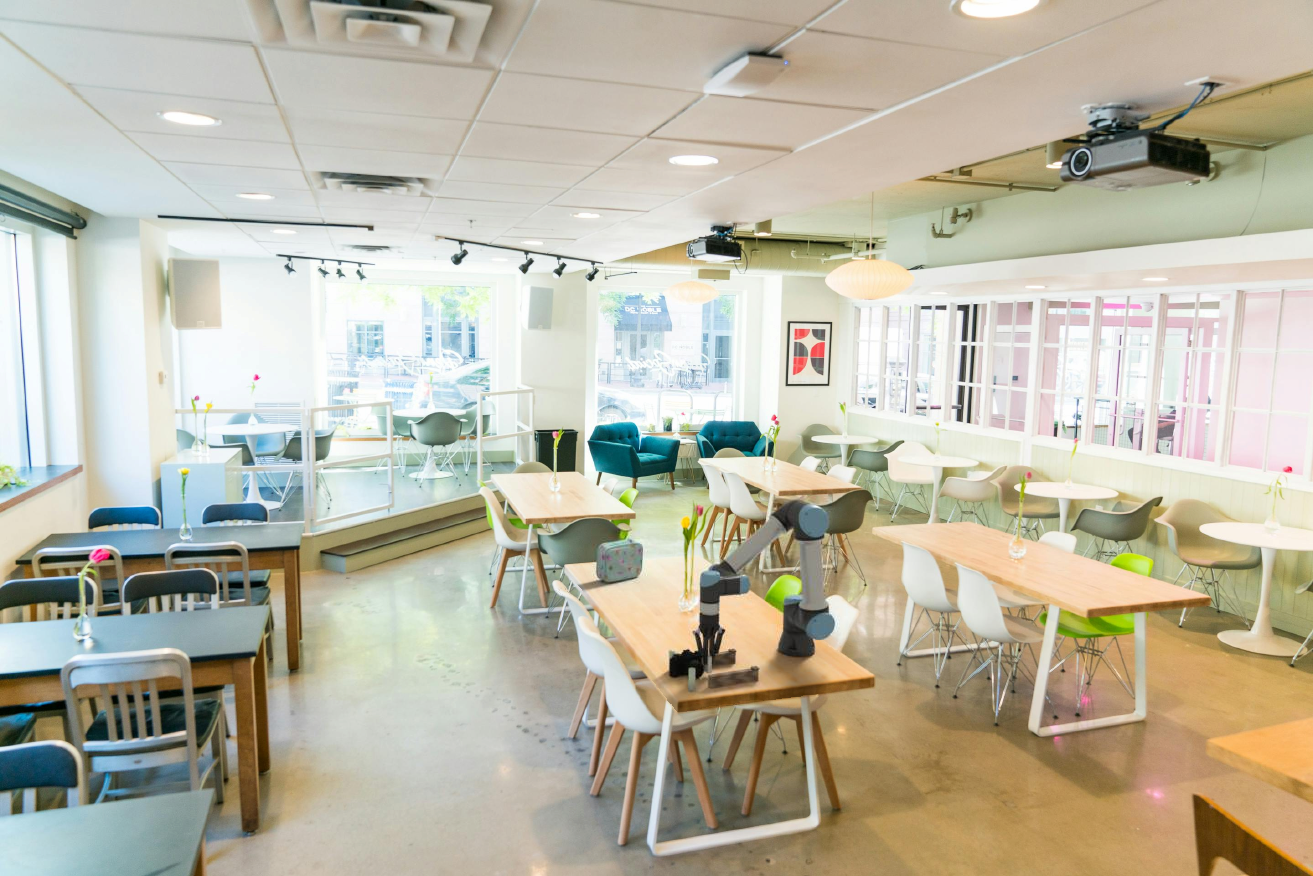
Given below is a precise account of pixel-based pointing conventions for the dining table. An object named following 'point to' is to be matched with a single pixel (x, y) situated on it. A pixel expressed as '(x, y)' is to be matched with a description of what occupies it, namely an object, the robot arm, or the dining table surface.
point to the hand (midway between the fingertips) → (708, 672)
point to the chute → (731, 676)
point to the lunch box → (619, 560)
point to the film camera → (686, 664)
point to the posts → (691, 673)
